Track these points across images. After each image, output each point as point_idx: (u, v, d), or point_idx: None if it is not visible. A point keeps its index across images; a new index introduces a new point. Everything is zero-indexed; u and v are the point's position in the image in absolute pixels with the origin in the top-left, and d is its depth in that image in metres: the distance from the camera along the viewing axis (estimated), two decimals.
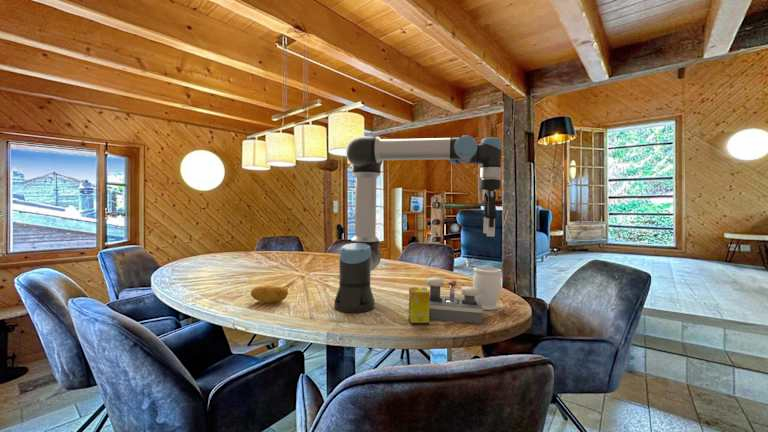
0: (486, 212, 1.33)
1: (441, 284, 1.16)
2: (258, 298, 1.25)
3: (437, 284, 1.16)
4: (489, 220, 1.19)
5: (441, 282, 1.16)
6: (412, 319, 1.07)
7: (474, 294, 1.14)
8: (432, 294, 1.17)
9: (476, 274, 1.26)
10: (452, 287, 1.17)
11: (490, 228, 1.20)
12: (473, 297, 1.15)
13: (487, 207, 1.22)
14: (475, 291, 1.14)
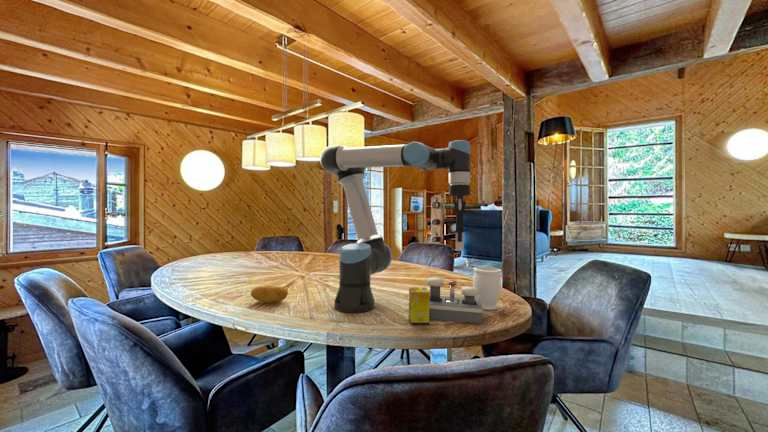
0: None
1: (441, 284, 1.16)
2: (258, 298, 1.25)
3: (437, 284, 1.16)
4: (457, 234, 1.17)
5: (441, 282, 1.16)
6: (412, 319, 1.07)
7: (474, 294, 1.14)
8: (432, 294, 1.17)
9: (476, 274, 1.26)
10: (452, 287, 1.17)
11: (459, 242, 1.18)
12: (473, 297, 1.15)
13: None
14: (475, 291, 1.14)
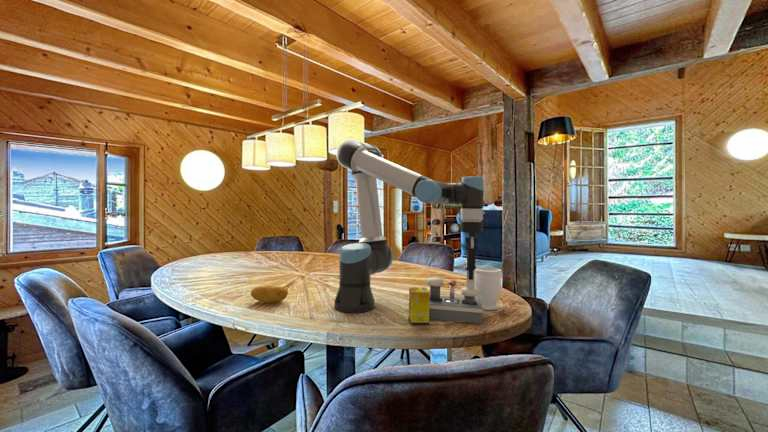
0: None
1: (441, 284, 1.16)
2: (258, 298, 1.25)
3: (437, 284, 1.16)
4: (468, 272, 1.15)
5: (441, 282, 1.16)
6: (412, 319, 1.07)
7: (474, 294, 1.14)
8: (432, 294, 1.17)
9: (476, 274, 1.26)
10: (452, 287, 1.17)
11: (470, 280, 1.15)
12: (473, 297, 1.15)
13: None
14: (475, 291, 1.14)
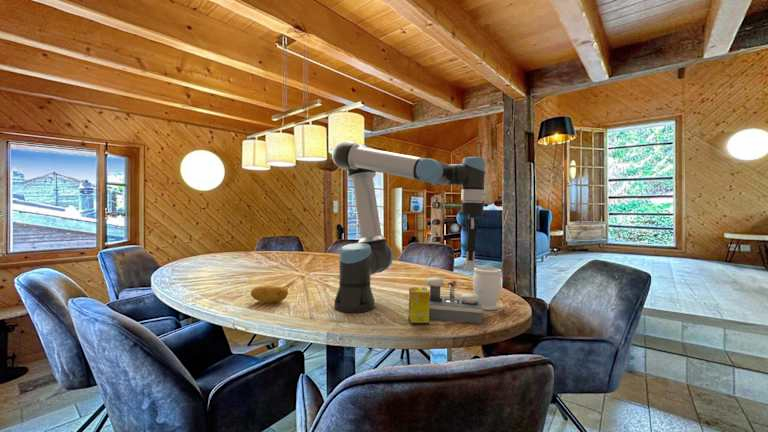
0: None
1: (441, 284, 1.16)
2: (258, 298, 1.25)
3: (437, 284, 1.16)
4: (468, 253, 1.15)
5: (441, 282, 1.16)
6: (412, 319, 1.07)
7: (474, 301, 1.14)
8: (432, 294, 1.17)
9: (476, 274, 1.26)
10: (452, 287, 1.17)
11: (469, 261, 1.15)
12: (472, 304, 1.15)
13: None
14: (475, 298, 1.14)
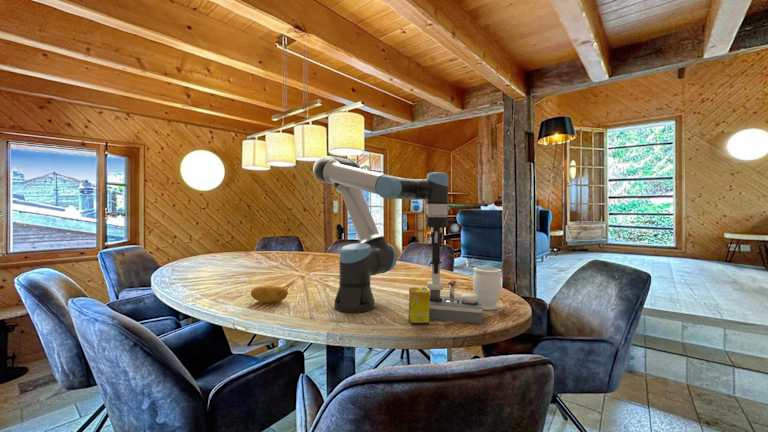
0: None
1: (441, 288, 1.16)
2: (258, 298, 1.25)
3: (437, 288, 1.16)
4: (434, 266, 1.17)
5: (441, 286, 1.16)
6: (412, 319, 1.07)
7: (474, 301, 1.14)
8: (432, 298, 1.17)
9: (476, 274, 1.26)
10: (452, 287, 1.17)
11: (435, 274, 1.18)
12: (472, 304, 1.15)
13: None
14: (475, 298, 1.14)
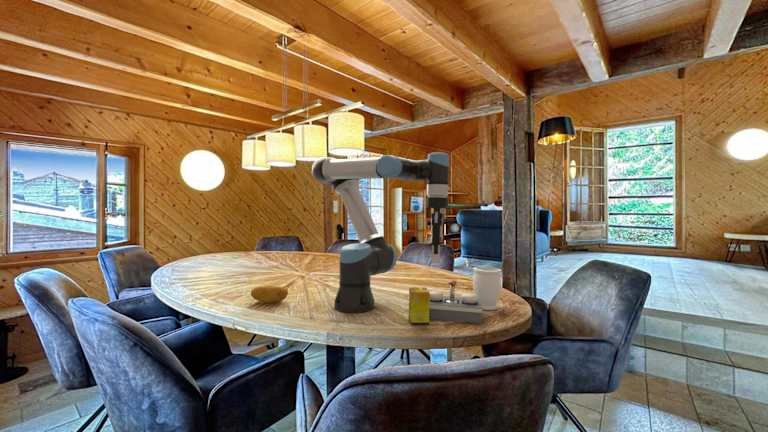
0: None
1: (441, 298, 1.17)
2: (258, 298, 1.25)
3: (437, 298, 1.16)
4: (433, 247, 1.17)
5: (441, 296, 1.17)
6: (412, 319, 1.07)
7: (474, 301, 1.14)
8: None
9: (476, 274, 1.26)
10: (452, 287, 1.16)
11: (435, 255, 1.18)
12: (472, 304, 1.15)
13: None
14: (475, 298, 1.14)
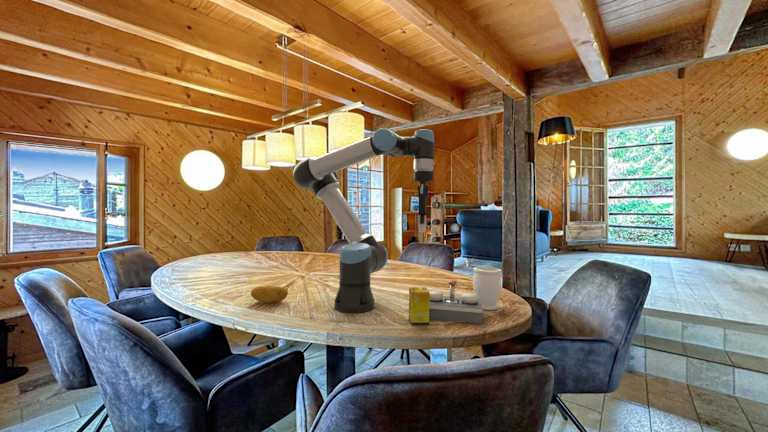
0: None
1: (441, 298, 1.17)
2: (258, 298, 1.25)
3: (437, 298, 1.16)
4: (420, 217, 1.26)
5: (441, 296, 1.17)
6: (412, 319, 1.07)
7: (474, 301, 1.14)
8: None
9: (476, 274, 1.26)
10: (452, 287, 1.17)
11: (421, 224, 1.27)
12: (472, 304, 1.15)
13: None
14: (475, 298, 1.14)
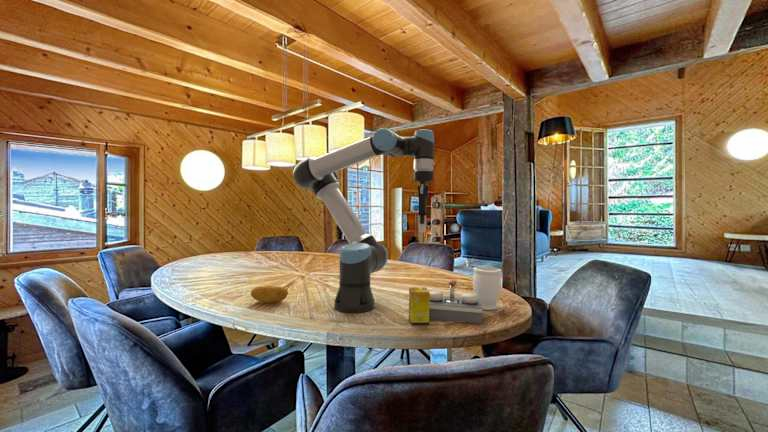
0: None
1: (441, 298, 1.17)
2: (258, 298, 1.25)
3: (437, 298, 1.16)
4: (420, 217, 1.27)
5: (441, 296, 1.17)
6: (412, 319, 1.07)
7: (474, 301, 1.14)
8: None
9: (476, 274, 1.26)
10: (452, 287, 1.17)
11: (421, 224, 1.27)
12: (472, 304, 1.15)
13: None
14: (475, 298, 1.14)
